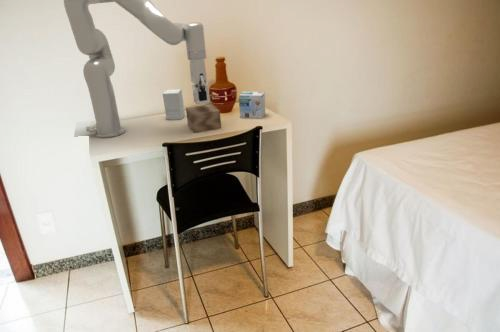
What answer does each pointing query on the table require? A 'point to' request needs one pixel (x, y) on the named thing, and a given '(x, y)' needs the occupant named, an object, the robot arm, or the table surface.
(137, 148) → the table surface
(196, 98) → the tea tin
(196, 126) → the walnut block
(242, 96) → the light bulb box
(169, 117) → the supplement box
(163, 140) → the table surface
